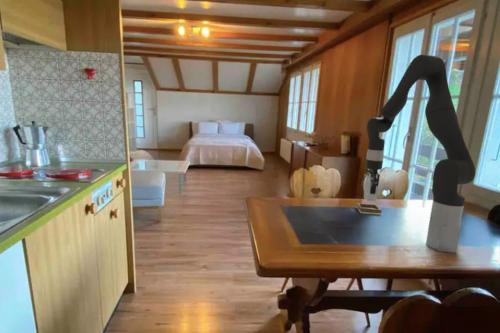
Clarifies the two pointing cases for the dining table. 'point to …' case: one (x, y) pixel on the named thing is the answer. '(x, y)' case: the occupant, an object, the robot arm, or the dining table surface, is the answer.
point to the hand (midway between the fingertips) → (370, 191)
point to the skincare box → (367, 194)
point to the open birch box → (368, 209)
